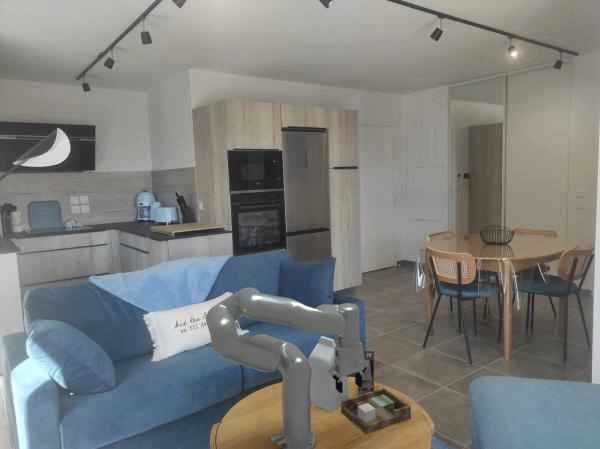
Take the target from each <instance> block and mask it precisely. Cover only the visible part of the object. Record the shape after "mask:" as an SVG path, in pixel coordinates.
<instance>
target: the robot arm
mask: <svg viewBox="0 0 600 449" xmlns="http://www.w3.org/2000/svg"><path fill="white" fill-rule="evenodd" d="M243 317H245V318H247V319H250V320H253V321H258V322H266V323H273V324H280V325H286V326H289V327H291V328H293V329H294V328H295V329H298V330H302V331H305V332H309V333H311V334H318V335H322V336H323V335H325V336H336V338H335V339H334V341H335V344H336V348H335V355H334V365H333V366H332V367H331V368H330V369H329V371H328V373H329V374H330V376H331V377H332V378H334V379H335V382H336V390H337V391H338V392H340V393H342V392H343V383H342V382H341V380H342V378H343V376H346V375H347V376H350V375H353V374H355V375H354V377H355V378H354V379H355V380H354V384H355V385H356V386H357V387H358V386H359V387H362V376H363V375H364V372H365V370H366V367H367V366H368V364H369V362H368V361H366V360H365V359H364V352H363V351H364V348H363V343H362V342H361V341H360V337H361V336H360V308H359V305H357V304H355V303H352V302H346V303H345V302H344V303H341V304H329V303H328V304H324V303H323V304H320V305H318V306H317V307H315V308H313V307H310V306H308V305H305V304H303V303H302V302H300V301H298V300H295V299H293V298H290V297H283V296H278V295H272V294H265V293H261V292H260V291H259V290H257V288H255V287H249V286H248V287H244V288H241V289H240V290H238V291H236V292H235V293H233V294H232V295H229V296H228V297H226V298H225V299H223V300H221V301H220V302H218V303H216V304H215V305H213V306H212V307H211V308H209V310H208V311H207V313H206V316H205V322H206V325H207V329H208V333H209V335H210V343H211V346H212V349H213V351H214V352H215V353H216V354H217V356H218V357H219V358H221V359H223V360H226V361H229V362H232V363H235V364H239V365H241V366H244V367H247V368H251V369H254V370H257V371H260V372H262V373H272V372H275V371H276V370H279V372H280V373H281V376H282V385H281V406H282V407H281V409H282V410H281V411H282V429H280V430H279V432H280V433H278V434H277V435H275V436H272V437H269V442H270V443H269V444H271V445H272V444H276V446H277V447H278V446H279V447H280V448H281V449H314V447H315V446H316V444H317V438H316V435H315V433H313V432H312V416H311V415H312V413H311V412H312V411H311V409H312V407H311V405H312V404H311V403H310V382H311V374H312V370H311V365H310V363H309V358H307V356H305V354H304V353H303V351H301V349H299V347H298V346H296V345H295V344H294V343H292V342H290V341H285V340H283V339H280V338H277V337H274V336H272V335H268V334H265V333H261V334H260V333H259V334H255V335H253V336H252V337H248V336H244V335H239V334H238V327H237V326H238V325H237V321H238V320H240V319H242V318H243ZM334 371H337V372H336V374H334ZM339 374H340V375H339ZM338 376H339V377H338Z"/></svg>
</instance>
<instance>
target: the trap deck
mask: <svg viewBox="0 0 600 449" xmlns="http://www.w3.org/2000/svg"><path fill="white" fill-rule="evenodd" d="M367 403H368V404H370V405H371V406H372V407H374V408H375V411H376V419H375V420H372V421H369V422H367V423H365V422H363V421H362V420H361V419H360V418H359V417H358V406H361V405H364V404H367ZM340 410H341V411H340V412H341V413H342V415H344V416H345V417H346V418H347V419H349V421H350V422H352V423H353V424H354V425H356V426H357V428H358V429H360V430H361V431H362V432H364V433H365V434H370V433H373V432H375V431H378V430H381V429H383V428H386V427H389V426H391V425H395V424H397V423H401V422H403V421H406V420H409V419H411V418H412V416H411V414H412V413H411V412H412V406H411V405H409V404H408V403H406V401H404V400H403V399H400V398H399V397H397V395H395V394H393V393H392V392H391V391H389V390H387V389H385V388H384V387H382V388H378V389H376V390H375V389H374V391H372V392H368V393H365V394H362V395H359V396H358V395H356V396H352V397H349V399H346V400H343V401H341V406H340Z"/></svg>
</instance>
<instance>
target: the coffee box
mask: <svg viewBox="0 0 600 449" xmlns="http://www.w3.org/2000/svg"><path fill="white" fill-rule="evenodd" d="M363 352H364V359H365V360H366V361H368V362H369V364H368V366H367V367H366V370H365V372H364V375H363V376H362V387H359V386H357V396H359V395H362V394H365V393H368V392H372V391H375V356H374V354H375V351H372V350H363Z"/></svg>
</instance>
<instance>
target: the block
mask: <svg viewBox="0 0 600 449" xmlns="http://www.w3.org/2000/svg"><path fill="white" fill-rule="evenodd" d="M358 417H359V418H360V419H361V420H362V421H363V422H365V423H367V422H369V421H372V420H375V419H376V411H375V408H374V407H372V406H371V405H370V404H368V403H367V404H364V405H361V406H358Z"/></svg>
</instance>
